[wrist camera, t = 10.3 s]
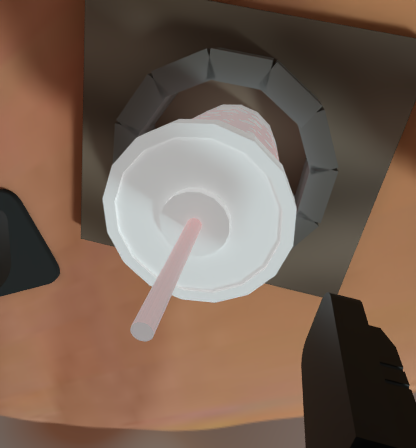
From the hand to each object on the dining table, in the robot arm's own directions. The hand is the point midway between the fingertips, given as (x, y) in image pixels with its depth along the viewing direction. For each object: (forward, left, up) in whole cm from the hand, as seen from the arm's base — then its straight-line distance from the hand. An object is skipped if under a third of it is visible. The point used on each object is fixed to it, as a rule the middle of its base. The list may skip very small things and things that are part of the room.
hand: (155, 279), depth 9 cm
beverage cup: (0, 0, -12) cm, 12 cm away
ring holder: (0, 0, -13) cm, 13 cm away
